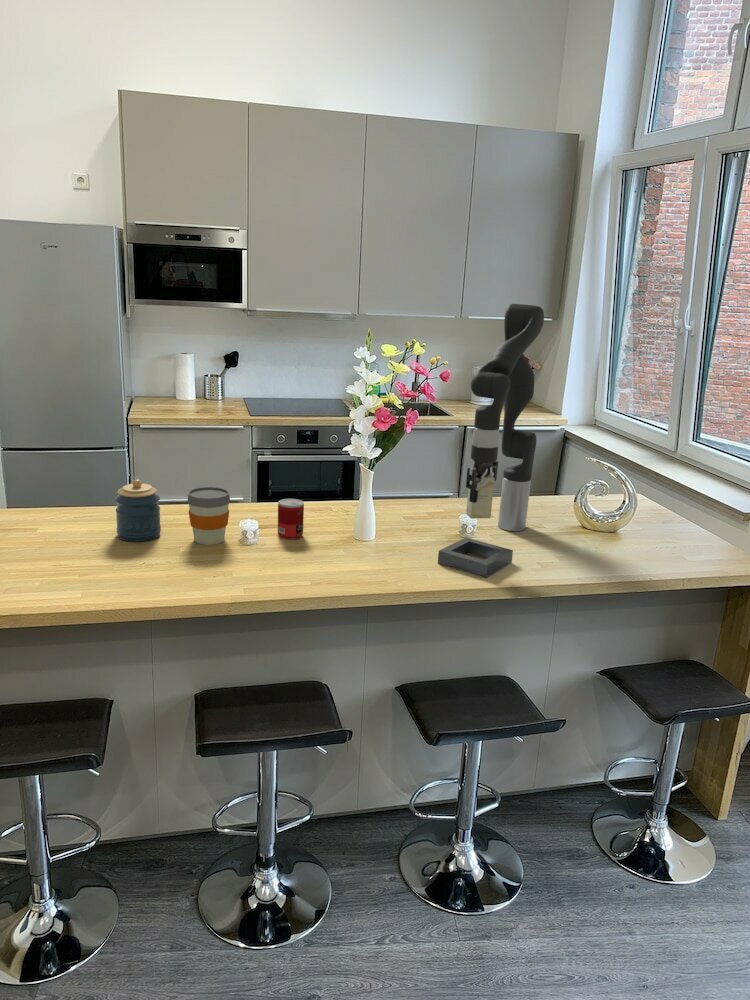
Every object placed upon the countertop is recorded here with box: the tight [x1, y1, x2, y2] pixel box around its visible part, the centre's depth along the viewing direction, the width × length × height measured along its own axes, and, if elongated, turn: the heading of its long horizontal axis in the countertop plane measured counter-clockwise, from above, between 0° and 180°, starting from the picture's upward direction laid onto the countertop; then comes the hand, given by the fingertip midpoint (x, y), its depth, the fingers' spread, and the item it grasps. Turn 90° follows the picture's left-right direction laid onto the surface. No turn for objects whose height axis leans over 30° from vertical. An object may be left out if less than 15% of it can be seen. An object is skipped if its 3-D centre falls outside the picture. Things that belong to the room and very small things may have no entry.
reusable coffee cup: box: [187, 486, 231, 546], centre depth 235 cm, size 12×13×15 cm
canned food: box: [277, 498, 305, 540], centre depth 243 cm, size 8×8×11 cm
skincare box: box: [465, 476, 495, 520], centre depth 224 cm, size 6×4×12 cm
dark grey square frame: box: [437, 537, 514, 579], centre depth 229 cm, size 16×16×4 cm
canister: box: [114, 479, 162, 543], centre depth 235 cm, size 13×13×18 cm
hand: (479, 499), depth 224 cm, fingers closed on skincare box, 7 cm apart
